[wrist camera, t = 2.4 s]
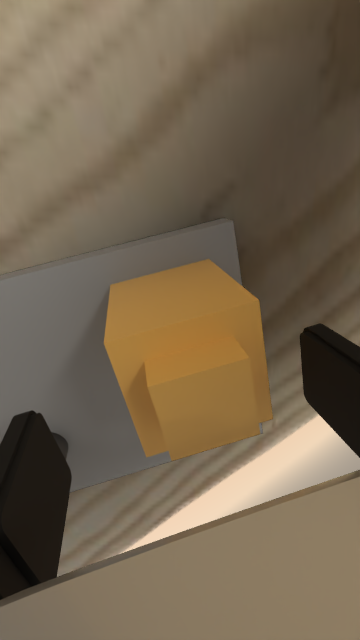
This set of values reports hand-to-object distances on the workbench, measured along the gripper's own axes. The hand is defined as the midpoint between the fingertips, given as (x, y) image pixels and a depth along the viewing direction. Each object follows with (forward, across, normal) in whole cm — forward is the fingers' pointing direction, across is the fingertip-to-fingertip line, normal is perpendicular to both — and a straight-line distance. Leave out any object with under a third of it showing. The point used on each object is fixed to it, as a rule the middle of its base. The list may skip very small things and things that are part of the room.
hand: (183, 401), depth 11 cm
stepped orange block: (+6, -1, -1) cm, 6 cm away
